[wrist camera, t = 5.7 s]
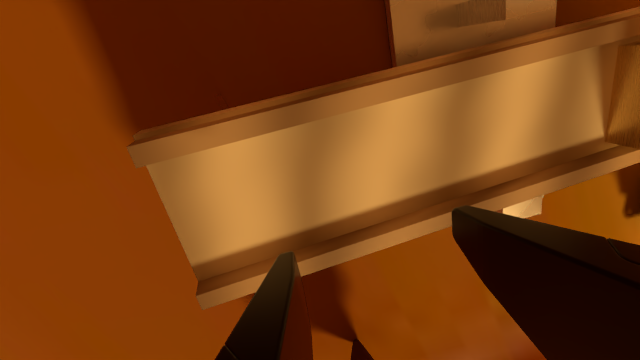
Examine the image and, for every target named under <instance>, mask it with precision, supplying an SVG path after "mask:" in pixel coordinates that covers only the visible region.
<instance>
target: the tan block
mask: <svg viewBox="0 0 640 360" xmlns="http://www.w3.org/2000/svg"><path fill="white" fill-rule="evenodd" d="M605 142H608V143H613V144H617V145H622V146H627V147H632V148H636V149H640V41H636V42H632V43H628V44H625V45H621V46H618V51H617V59H616V66H615V73H614V80H613V87H612V94H611V101H610V108H609V115H608V122H607V129H606V136H605Z"/></svg>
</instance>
